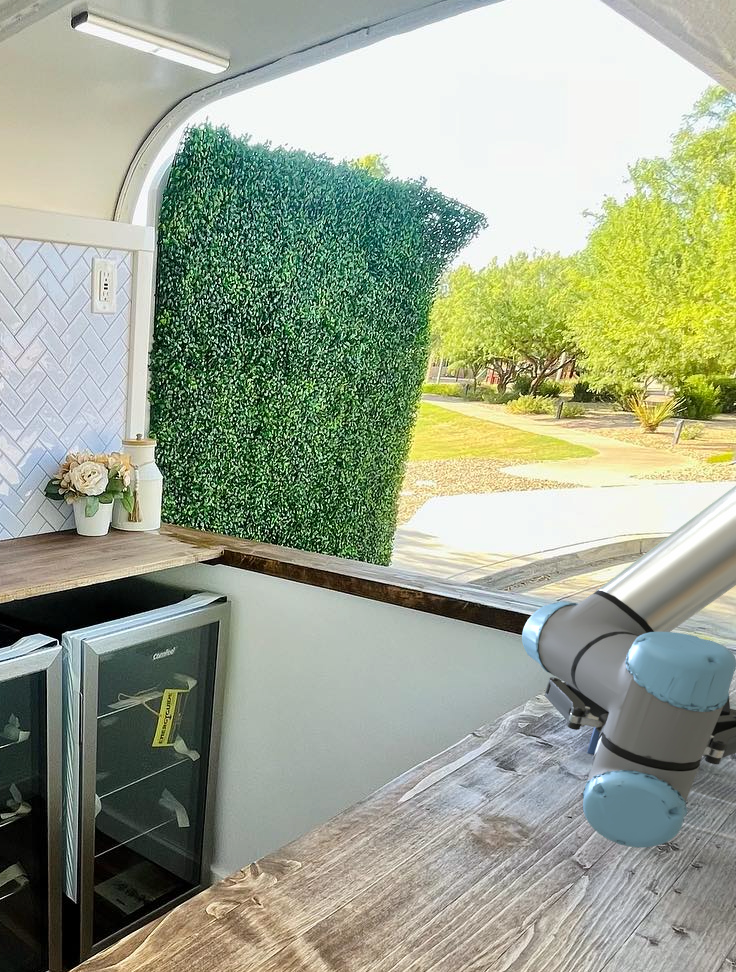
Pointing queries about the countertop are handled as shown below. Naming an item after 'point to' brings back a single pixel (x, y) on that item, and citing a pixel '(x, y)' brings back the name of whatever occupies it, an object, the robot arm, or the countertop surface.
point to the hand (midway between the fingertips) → (650, 687)
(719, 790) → the countertop surface
